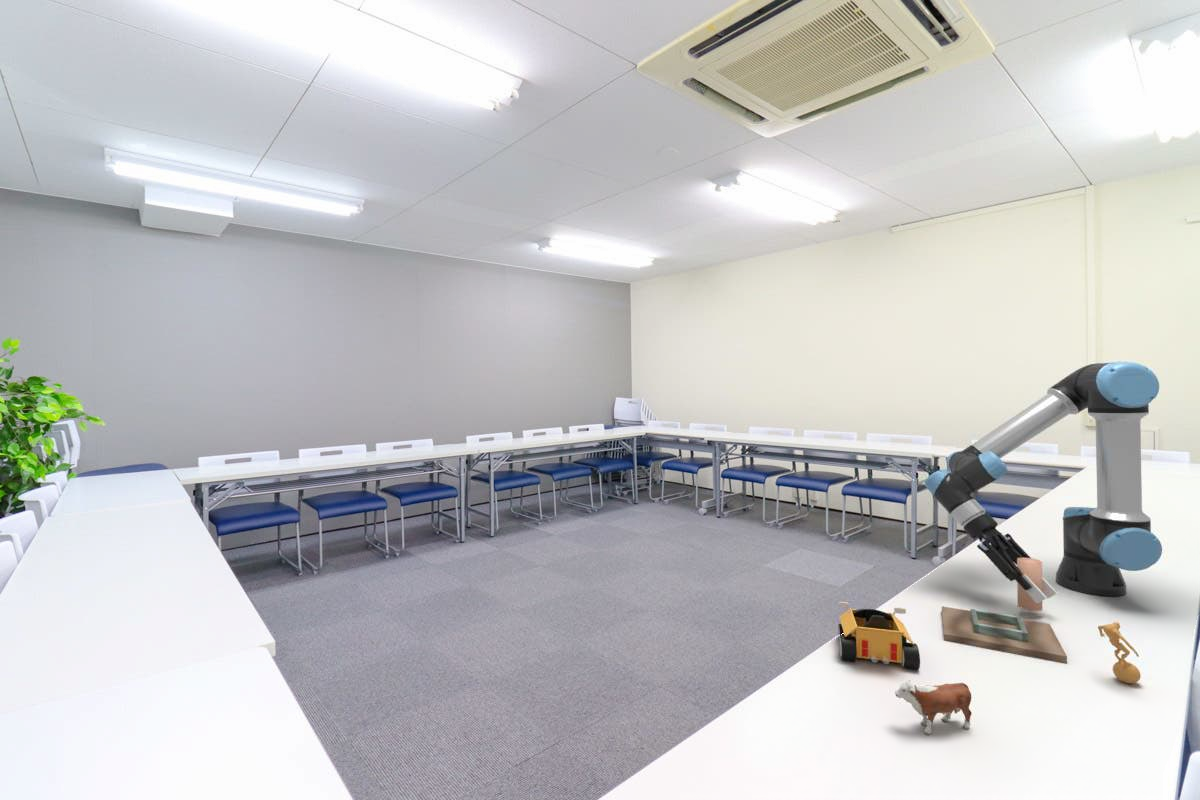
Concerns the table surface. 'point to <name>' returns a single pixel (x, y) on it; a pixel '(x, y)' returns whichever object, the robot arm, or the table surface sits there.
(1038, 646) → the jig board
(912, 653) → the race car
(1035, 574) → the pink rounded cylinder
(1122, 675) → the figurine
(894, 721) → the table surface
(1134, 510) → the robot arm
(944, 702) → the bull figurine
